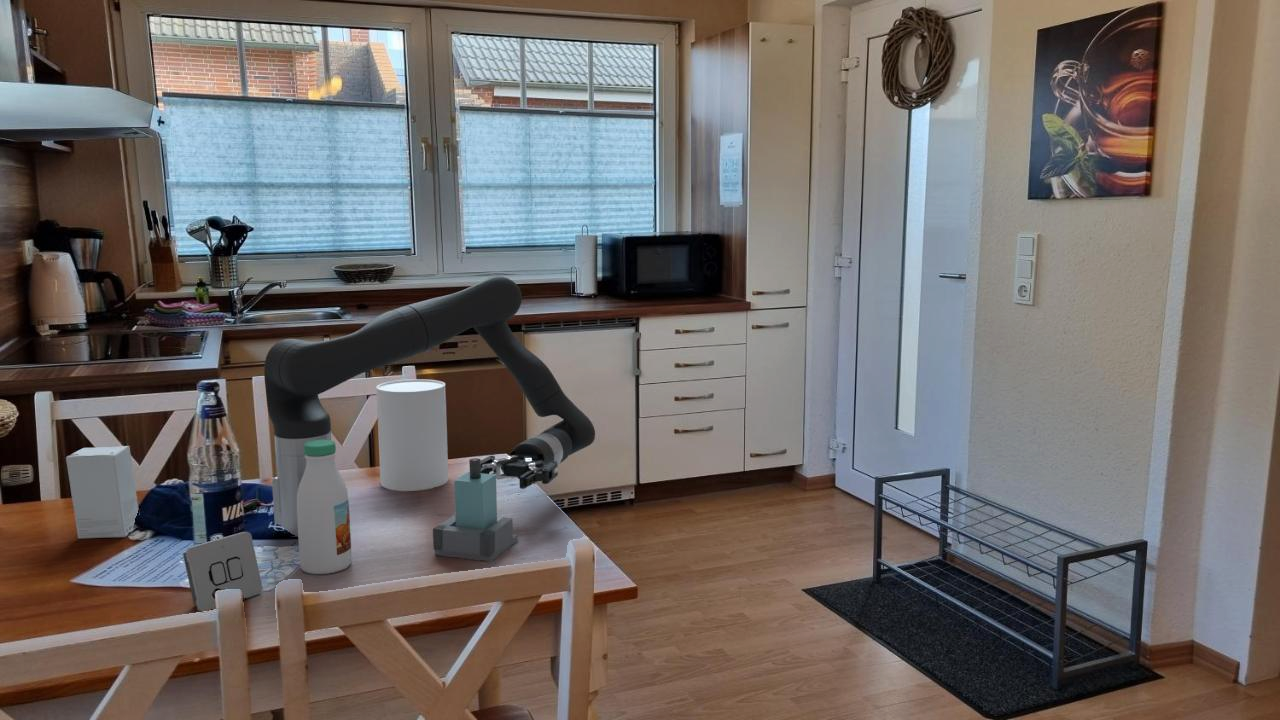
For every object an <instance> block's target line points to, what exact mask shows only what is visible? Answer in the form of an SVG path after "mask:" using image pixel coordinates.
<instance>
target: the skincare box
mask: <svg viewBox="0 0 1280 720" xmlns="http://www.w3.org/2000/svg"><path fill="white" fill-rule="evenodd" d="M131 455H132V454H131V449H130V445H123V446H122V445H121V446H118V445H117V446H104V447H103V446H102V447H101V446H100V447H83V448H81V449H79V450H77V451H74V452H73V453H71V454H70V455H67V456H66V457H65V460H66V466H67V467H66V468H67V473H68V481H69V486H70V493H71V494H70V495H71V500H72V506H73V512H74V519H75V526H76V532H77V539H81V540H82V539H97V538H98V539H101V538H105V539H106V538H126V537H127V536H129V534H128V533H129V532H130V530H131V528H132V526H133V525H134V523H135V518H136V516H137V513H138V510H139V504H138V503H139V502H138V497H137V490H136V489H137V488H136V484H135V476H134V469H133V462H132V456H131ZM139 511H140V510H139Z"/></svg>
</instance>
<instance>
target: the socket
mask: <svg viewBox="0 0 1280 720" xmlns="http://www.w3.org/2000/svg"><path fill="white" fill-rule="evenodd" d="M513 525H514V523H513V518H512V517H502V518H500V519H499V520H497V522H496V523H495V524H493V525H492V526H490V527H489V528H488V529H486V530H479V529H470V528H462V527H456V516H455V514H454V515H453V516H450V517H449V518H447V519H446V520H444V521H442V522H441V523H440V524H438V525H436V526H435V527H434V528H432V537H433V538H432V539H433V544H432V545H433V550H434V555H435V556H440V557H441V556H442V557H449V558H456V557H458V558H457V559H464V558H466V560H472V559H475V560H474V561H480V560H482V562H488V563H489V562H490V563H491V562H492V561H494V560H495V559H496V558H498V556H500V555H501V554H503V553H504V552H505V551H506V550H507V549H509V548H510V547H511V546H513V545H514V544H515V543H517V541H518V534H514V532H513V530H514V526H513ZM493 559H494V560H493ZM483 560H484V561H483Z"/></svg>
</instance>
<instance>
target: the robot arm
mask: <svg viewBox="0 0 1280 720" xmlns="http://www.w3.org/2000/svg"><path fill="white" fill-rule="evenodd" d="M522 295H523V294H522V291H521V289H520V286H518V284H517V283H516V282H515V281H513V280H512V279H510V278H508V277H505V276H501V275H498V276H496V275H493V276H490V277H487V278H485V279H483V280H482V281H480V282H478V283H476V284H474V285H472V286H469V287H467V288H465V289H463V290H460V291H457V292H454V293H451V294H450V293H449V294H447V295H443V296H438V297H433V298H429V299H426V300H422V301H418V302H414V303H410V304H407V305H403V306H401V307H397V308H395V309H392V310H389V311H386V312H384V313H381V314H380V315H378V316H376V317H374V318H373V319H371V320H370V321H368V322H367V323H366V324H365V325H364V326H362V327H361V328H360V329H358V330H356V331H354V332H352V333H349V334H347V335H343V336H339V337H336V338H332V339H327V340H322V341H308V340H302V339H298V338H286V339H282V340H279V341H278V342H276V343H275V344H273V345H272V346H271V348H270V349H269V350H268V352H267V353H266V357H265V361H264V367H263V368H264V369H263V370H264V371H263V372H264V373H263V374H264V375H263V376H264V388H265V397H266V405H267V406H266V407H267V412H268V416H269V419H270V421H271V423H272V425H273V434H274V452H275V464H276V465H275V467H276V476H275V477H273V478H272V481H271V483H272V484H271V487H272V488H271V489H272V498H273V499H272V501H273V516H274V518H273V519H274V525H275V524H278V525H281V526H282V527H283V528H284V529H285V530H287V531H288V532H290V533H291V534H293V535H295V536H294V537H298V521H297V492H298V488H299V484H300V482H301V479H302V477H303V474H304V472H305V468H306V458H305V453H304V444H305V443H307V442H310V441H314V440H332V425H331V423H332V422H331V416H330V415H329V413H328V412H327V411H326V409H325V408H324V407H323V405H322V404H321V401H320V398H319V395H321V394H323V393H324V392H327V391H329V390H331V389H333V388H335V387H337V386H339V385H341V384H343V383H345V382H347V381H349V380H351V379H353V378H355V377H358V376H359V375H361V374H364V373H366V372H369V371H372V370H375V369H379V368H382V367H385V366H388V365H391V364H393V363H396V362H399V361H402V360H406V359H408V358H411V357H415V356H418V355H420V354H422V353H425V352H427V351H429V350H431V349H434V348H436V347H438V346H440V345H442V344H443V343H446V342H447V341H450V340H451V339H453V338H454V337H456V336H457V335H459V334H461V333H463V332H465V331H466V330H469V329H471V328H473V329H474V330H475V331H476V333H478V335H479V336H480V337H481V339H483V340H484V342H485V343H486V344H487V345H488V347H489V348H490V350H492V352H493V353H494V354H495V355H496V356H497V358H499V360H500V361H501V363H502V364H503V365H504V366H505V368H506V369H507V370H508V372H510V374H511V375H512V377H513V378H514V380H515V382H516V383H517V384H518V386H519V388H520V389H521V391H522V393H523V395H524V396H525V398H526V399H527V401H528V403H529V404H530V406H531V408H532V410H533V411H534V413H535V414H536V415H537V417H540V418H545V417H550V416H557V417H560V418H561V419H562V420H561V421H559V422H557V423H555V424H553V425H551V426H550V427H548V428H546V429H544V431H542V432H541V433H538V434H536V435H533V436H531V437H529V438H527V439H526V440H524V441H522V442H521V443H519V444H517V445H516V446H514V448H512V450H511V451H510V454H509V455H508V456H506V457H504V458H497V459H496V456H495V455H488V456H487V457H485V458H483V459H481V473H483V474H490V473H491V472H492V473H491V474H494V475H496V480H499V481H500V480H503V479H509V478H510V479H516V478H517V479H518V480H519V481H518V482H519V489H522V490H525V489H527V488H528V487H530V486H532V485H537V484H538V483H539V482H541V484H542V485H548V484H550V483H551V482H553V480H554V479H556V478H557V477H559V476H558V474H559V473H558V472H559V467H558V466H559V465H560V464H561V463H563V462H564V461H565V460H567V458H568V457H569V456H571V455H573V454H575V453H577V452H580V451H581V450H582V449H585V448H588V447H589V446H591V445H592V444H593V443H594V441H595V439H596V430H595V427H594V425H593V422H592V421H591V420H590V418H589V416H587V414H585V413H584V412H583V411H582V410H581V409H580V408H578V407H577V406H576V404H574V402H572V400H571V399H569V397H568V396H567V395H566V394H565V392H564V390H562V388H561V386H560V383H558V381H557V380H556V378H555V376H554V374H553V373H552V371H551V370H550V368H549V367H548V366H547V365H546V363H544V361H542V360H541V359H540V358H539V357H538V356H537V355H535V354H534V353H533V352H532V351H531V350H529V349H528V348H526V346H524V344H523V343H521V341H520V340H518V338H517V337H516V335H515V334H514V333H513V332H512V330H511V328H510V326H509V324H508V322H507V321H508V320H510V319H512V318H513V317H514V316H515V315H516V314H517V313H518V311H519V310H520V308H521V304H522V301H523V297H522ZM501 472H502V474H501Z"/></svg>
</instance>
